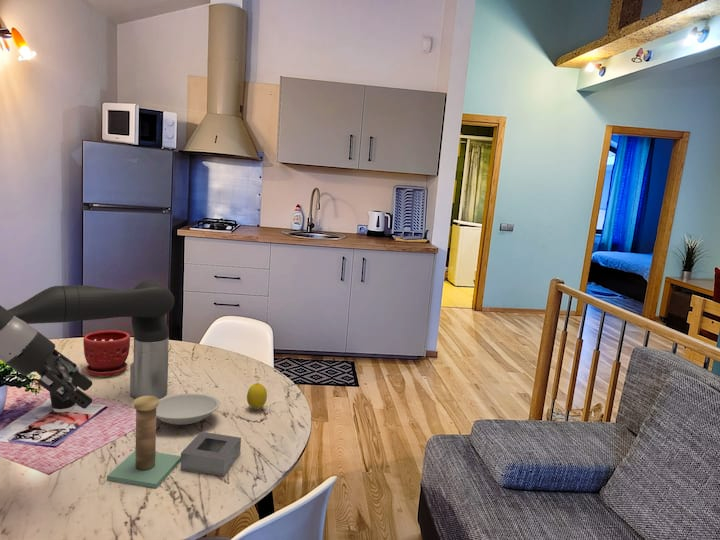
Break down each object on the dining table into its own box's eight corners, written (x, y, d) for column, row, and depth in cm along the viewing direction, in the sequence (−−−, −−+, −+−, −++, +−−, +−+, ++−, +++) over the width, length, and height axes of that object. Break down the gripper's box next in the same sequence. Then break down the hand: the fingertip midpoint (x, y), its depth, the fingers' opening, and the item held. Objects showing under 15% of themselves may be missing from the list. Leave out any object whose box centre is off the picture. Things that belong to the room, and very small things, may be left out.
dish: (149, 441, 122) (149, 421, 121) (147, 414, 135) (147, 396, 134) (223, 431, 129) (224, 413, 129) (214, 407, 142) (215, 390, 141)
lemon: (261, 415, 140) (263, 388, 139) (243, 411, 141) (244, 385, 140) (269, 407, 145) (270, 380, 144) (251, 403, 146) (252, 377, 145)
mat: (106, 480, 106) (106, 475, 105) (136, 453, 116) (136, 449, 116) (156, 488, 104) (156, 484, 104) (181, 460, 115) (181, 456, 115)
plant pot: (138, 371, 162) (138, 335, 160) (98, 383, 151) (98, 344, 149) (114, 360, 169) (114, 326, 167) (74, 371, 158) (74, 334, 156)
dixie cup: (86, 403, 138) (86, 364, 136) (70, 416, 130) (70, 376, 128) (56, 401, 138) (56, 362, 136) (39, 414, 130) (38, 373, 128)
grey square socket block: (180, 469, 111) (180, 453, 111) (200, 446, 121) (201, 431, 121) (223, 476, 110) (224, 459, 110) (240, 453, 120) (241, 437, 119)
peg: (128, 469, 108) (129, 403, 105) (141, 458, 113) (142, 394, 110) (149, 473, 108) (150, 406, 105) (161, 461, 112) (162, 397, 110)
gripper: (8, 347, 100) (75, 395, 107) (-4, 374, 87) (72, 426, 95) (39, 320, 101) (103, 369, 109) (31, 343, 89) (104, 396, 96)
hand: (89, 395), depth 102 cm, fingers open, 8 cm apart
